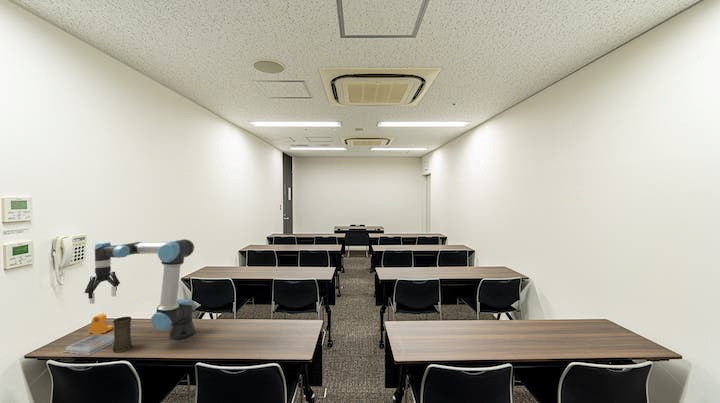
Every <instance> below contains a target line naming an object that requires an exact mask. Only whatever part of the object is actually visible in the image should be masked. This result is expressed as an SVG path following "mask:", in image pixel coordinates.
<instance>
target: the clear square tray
mask: <svg viewBox="0 0 720 403" xmlns="http://www.w3.org/2000/svg"><path fill="white" fill-rule="evenodd" d="M110 345H114V335H110V334H109V335H108V334H107V335H106V334H92V335H90V336H87V337H85V338H83V339H81V340H79V341H77V342H75V343H72V344H69V345H67V346H66V347H65V350H63V351H62V353H63V352H70V353H69V354H72V353H76V354H75V355H85V356H87V355H88V356H90V355H93V354H95V353H97V352H98V351H101V350H103V349H105V348H107V347H109V346H110Z"/></svg>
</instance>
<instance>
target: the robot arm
mask: <svg viewBox="0 0 720 403" xmlns="http://www.w3.org/2000/svg"><path fill="white" fill-rule="evenodd" d="M194 251H195V245H194V243H193V242H192V241H191V240H190V239H180V240H179V239H178V240H174V241H173V240H172V241H160V242H159V241H158V242H157V241H156V242H154V241H153V242H152V241H151V242H148V241H147V242H143V241H136V242H131V243H125V244H124V243H123V244H119V245H111V242H110V241H101V242H96V243H95V245H94V266H95V268H94V273H95V276H93V275H92V276H90V277H89V281H88V283H87V286H86V288H85V289H84V290H85V291H84V294H87V295H88V296H87V297H88V299H89V304H90V305H91V304H92V305H93V304H95V302H96V301H95V290H96V289H97V287H98V286H99V285H100V284H101V283H102V282H106V281H107V282H108V283H109V284H110V285H112V286H111V287H110V288H111V291H110V292H111V297H117V290H118V286H119V285H121V281H120V279H118V277H117V274H116V271H111V270H112V267H111V265H112V263H111V262H112V261H111V260H112V258H119V259H120V258H126V257H128V256H131V255H139V254H140V255H143V254H144V255H146V254H148V255H149V254H157V256H158V259H159V260H160V261H161V264H162V266H163V274H162V281H161V282H162V284H161V294H160V302H159V304H158V305H157V306H156V312H155V313H154V314H153V315H152V316H151V318H150V322H151V323H150V324H151V326H152V327H153V328H154V329H155V330H157V331H161V332H162V331H163V332H164V331H166V330H168V329H170V330H169V333H168V338H169V339H171V340H174V341H176V340H183V339H188V338H189V337H192V336H194V335H195V334H196V327H195V324H194V321H193V319H194V318H193V312H194V311H193V310H194V309H193V308H194V306H193V300H192V299H190V298H189V299H188V298H183V299H182V298H181V299H178V293H179V292H178V291H179V284H180V283H179V282H180V274H181V266H182V265H183V264H184V262H185V258H187V257H190V256H191V255H192V254H193V253H194Z"/></svg>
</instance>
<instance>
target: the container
mask: <svg viewBox="0 0 720 403" xmlns="http://www.w3.org/2000/svg"><path fill="white" fill-rule="evenodd" d="M131 321H132V317H131V316H122V317H117V318H116V319H114V320H113V321H112V322H113V329H114V331H113V334H114V335H113V336H114V343H113V347H112V351H113V352H114V353H122V352H126V351H128V350H130V349H131V348H132V347H133V345H132V340H131V339H132V336H131V335H132V334H131V324H132V323H131Z"/></svg>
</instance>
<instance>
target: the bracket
mask: <svg viewBox="0 0 720 403" xmlns="http://www.w3.org/2000/svg"><path fill="white" fill-rule="evenodd" d="M106 320H107V315H106V314H104V313H100V314H98V315H97V314H96V316H94V317H93V318H92V320H91V322H90V325H89V328H88V331H87V333H88V334H92V335H95V334H96V335H103V334H105V333H107V332H108V331H109V332H110V331H111V330H112V329H114V325H107V324H106V323H107V322H106Z"/></svg>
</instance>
